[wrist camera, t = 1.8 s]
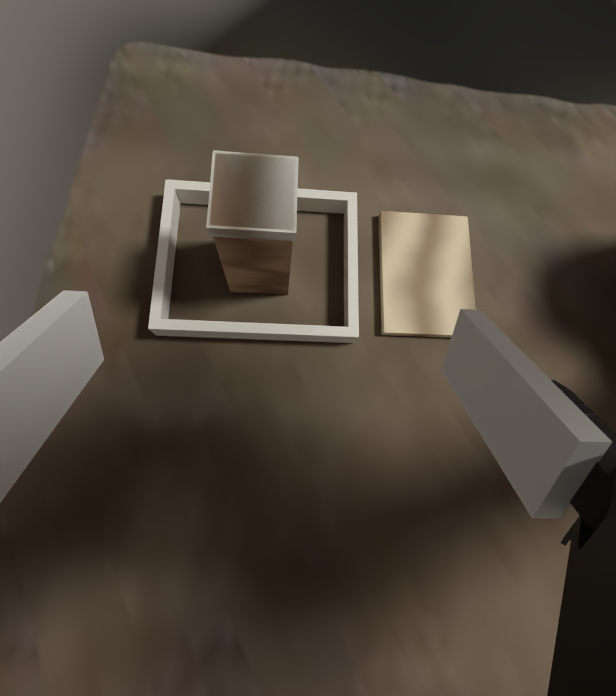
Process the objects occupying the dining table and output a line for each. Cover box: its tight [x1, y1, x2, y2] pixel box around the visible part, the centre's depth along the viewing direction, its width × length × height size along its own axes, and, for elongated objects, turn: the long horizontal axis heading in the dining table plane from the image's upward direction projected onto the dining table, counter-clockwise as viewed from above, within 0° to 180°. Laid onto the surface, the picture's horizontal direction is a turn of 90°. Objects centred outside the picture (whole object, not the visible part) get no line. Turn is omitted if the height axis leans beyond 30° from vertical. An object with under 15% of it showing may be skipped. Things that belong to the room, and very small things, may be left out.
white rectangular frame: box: [148, 180, 359, 343], centre depth 39 cm, size 20×16×2 cm
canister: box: [206, 151, 298, 295], centre depth 34 cm, size 6×6×13 cm
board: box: [378, 211, 475, 338], centre depth 41 cm, size 10×14×1 cm
